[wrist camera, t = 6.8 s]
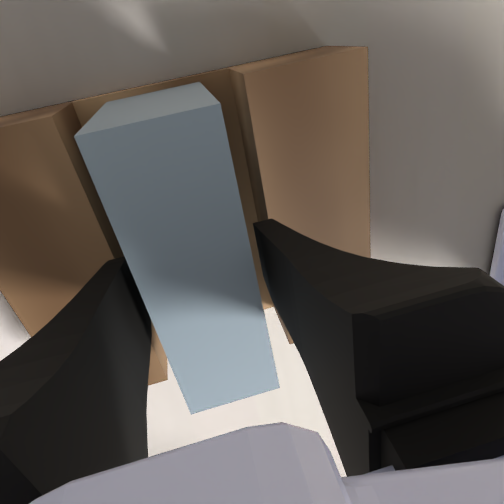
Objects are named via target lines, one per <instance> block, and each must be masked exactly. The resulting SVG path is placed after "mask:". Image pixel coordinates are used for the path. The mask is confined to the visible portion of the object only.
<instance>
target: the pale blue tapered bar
mask: <svg viewBox="0 0 504 504" xmlns="http://www.w3.org/2000/svg"><path fill="white" fill-rule="evenodd" d="M74 138H75V140H76V143H77V145H78V147H79V150H80V152H81V154H82V157H83V159H84V162H85V164H86V166H87V169H88V171H89V173H90V176H91V178H92V181H93V183H94V185H95V188H96V190H97V192H98V195H99V197H100V199H101V202H102V204H103V207H104V209H105V211H106V214H107V216H108V218H109V221H110V223H111V226H112V228H113V230H114V233H115V235H116V237H117V240H118V242H119V245H120V247H121V249H122V252H123V254H124V256H125V259H126V261H127V264H128V266H129V268H130V271H131V273H132V275H133V278H134V280H135V282H136V285H137V287H138V290H139V292H140V294H141V297H142V299H143V301H144V304H145V306H146V309H147V311H148V313H149V316H150V318H151V320H152V323H153V325H154V328H155V330H156V332H157V335H158V337H159V339H160V342H161V344H162V346H163V349H164V351H165V354H166V356H167V358H168V361H169V363H170V365H171V368H172V370H173V373H174V375H175V377H176V380H177V382H178V384H179V387H180V389H181V392H182V394H183V396H184V399H185V401H186V403H187V406H188V408H189V410H190V413H191V414H194V413H197V412H201V411H204V410H207V409H211V408H214V407H217V406H221V405H224V404H227V403H231V402H234V401H237V400H241V399H244V398H247V397H251V396H254V395H257V394H261V393H264V392H267V391H271V390H274V389H277V388H280V386H279V382H278V377H277V372H276V367H275V362H274V358H273V353H272V348H271V343H270V338H269V334H268V329H267V324H266V319H265V314H264V310H263V305H262V300H261V295H260V291H259V286H258V281H257V276H256V271H255V267H254V262H253V257H252V252H251V247H250V243H249V238H248V233H247V228H246V223H245V219H244V214H243V209H242V204H241V200H240V195H239V190H238V185H237V180H236V176H235V171H234V166H233V161H232V156H231V152H230V147H229V142H228V137H227V132H226V128H225V123H224V118H223V113H222V109H221V104H220V102H219V101H218V100H217V99H216V98H215V97H214V96H213V95H212V94H211V93H210V92H209V91H208V90H207V89H206V88H205V87H204V86H203V85H202V84H201V83H200V82H196V83H191V84H186V85H182V86H177V87H173V88H168V89H164V90H159V91H154V92H150V93H145V94H141V95H136V96H132V97H127V98H123V99H118V100H113V101H109V102H106V103H105V104H104V105H103V106H102V107H101V108H100V109H99V110H98V111H97V112H96V113H95V114H94V116H93V117H92V118H91V119H90V120H89V121H88V122H87V123H86V124H85V125H84V126H83V127H82V128H81V129H80V130H79V131H78V132H77V133H76V135H75V136H74Z"/></svg>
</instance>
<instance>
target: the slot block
mask: <svg viewBox="0 0 504 504" xmlns="http://www.w3.org/2000/svg"><path fill="white" fill-rule="evenodd" d="M196 82H200V83H201V84H202V85H203V86H204V87H205V88H206V89H207V90H208V91H209V92H210V93H211V94H212V95H213V96H214V97H215V98H216V99H217V100H218V101H219V102H220V104H221V109H222V113H223V118H224V123H225V128H226V132H227V137H228V142H229V147H230V152H231V156H232V161H233V166H234V171H235V176H236V180H237V185H238V190H239V195H240V200H241V204H242V209H243V214H244V219H245V223H246V228H247V233H248V238H249V243H250V247H251V252H252V257H253V262H254V267H255V271H256V276H257V281H258V286H259V291H260V295H261V300H262V305H263V310H264V309H267V308H271V307H274V308H275V306H274V304H273V302H272V299H271V297H270V294H269V291H268V288H267V286H266V283H265V280H264V277H263V273H262V268H261V263H260V258H259V253H258V248H257V242H256V237H255V232H254V227H253V223H256V222H260V221H264V220H267V219H271V218H272V219H274V220H276V221H278V222H280V223H281V224H283V225H285V226H287V227H289V228H291V229H293V230H295V231H297V232H298V233H300V234H303V235H305V236H307V237H309V238H311V239H313V240H316V241H318V242H320V243H323V244H325V245H328V246H330V247H333V248H336V249H339V250H342V251H345V252H349V253H352V254H356V255H359V256H363V257H368V258H370V178H369V94H368V47H355V46H324V47H319V48H315V49H310V50H305V51H301V52H296V53H292V54H287V55H282V56H278V57H273V58H269V59H264V60H259V61H255V62H250V63H246V64H241V65H236V66H232V67H227V68H223V69H218V70H213V71H209V72H204V73H199V74H195V75H190V76H186V77H181V78H176V79H172V80H167V81H163V82H158V83H153V84H149V85H144V86H140V87H135V88H130V89H126V90H121V91H117V92H112V93H107V94H103V95H98V96H94V97H89V98H84V99H80V100H75V101H71V102H66V103H61V104H57V105H52V106H47V107H43V108H38V109H34V110H29V111H24V112H20V113H15V114H11V115H6V116H1V117H0V291H1V292H2V294H3V295H4V297H5V298H6V300H7V301H8V303H9V304H10V306H11V307H12V309H13V310H14V312H15V313H16V315H17V316H18V318H19V319H20V321H21V322H22V324H23V325H24V327H25V328H26V330H27V331H28V333H29V334H30V336H31V337H32V336H34V335H35V334H36V333H37V332H38V331H39V330H41V329H42V328H43V327H44V326H45V325H46V324H47V323H48V322H49V321H50V320H52V319H53V318H54V317H55V316H56V315H57V314H58V313H59V312H60V311H61V310H62V309H63V308H64V307H65V306H66V305H67V304H68V303H69V302H70V301H71V300H72V299H73V298H74V296H75V295H76V294H77V293H78V292H79V291H80V290H81V289H82V288H83V287H84V285H85V284H86V283H87V282H88V281H89V280H90V279H91V278H92V277H93V276H94V274H95V273H96V272H97V271H98V270H99V269H100V268H101V267H102V266H103V265H104V264H105V263H106V262H107V261H108V260H112V259H116V258H120V257H124V254H123V252H122V249H121V247H120V245H119V242H118V240H117V237H116V235H115V233H114V230H113V228H112V226H111V223H110V221H109V218H108V216H107V214H106V211H105V209H104V207H103V204H102V202H101V199H100V197H99V195H98V192H97V190H96V188H95V185H94V183H93V181H92V178H91V176H90V173H89V171H88V169H87V166H86V164H85V162H84V159H83V157H82V154H81V152H80V150H79V147H78V145H77V143H76V140H75V138H74V136H75V135H76V133H77V132H78V131H79V130H80V129H81V128H82V127H83V126H84V125H85V124H86V123H87V122H88V121H89V120H90V119H91V118H92V117H93V116H94V114H95V113H96V112H97V111H98V110H99V109H100V108H101V107H102V106H103V105H104V104H105V103H106V102H109V101H113V100H118V99H123V98H127V97H132V96H136V95H141V94H145V93H150V92H154V91H159V90H164V89H168V88H173V87H177V86H182V85H186V84H191V83H196ZM275 310H276V313H277V315H278V318H279V320H280V322H281V325H282V327H283V329H284V332H285V334H286V336H287V339H288V341H289V344H293V343H294V342H293V340H292V338H291V336H290V334H289V332H288V330H287V329H286V327H285V325H284V323H283V321H282V319H281V317H280V315H279V313H278V311H277V309H276V308H275ZM151 328H152V340H151V353H150V366H149V378H148V385H151V384H155V383H158V382H162V381H165V380H168V378H167V356H166V354H165V351H164V349H163V346H162V344H161V342H160V339H159V337H158V335H157V332H156V330H155V328H154V325H153V323H152V320H151Z"/></svg>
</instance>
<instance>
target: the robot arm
mask: <svg viewBox="0 0 504 504" xmlns="http://www.w3.org/2000/svg"><path fill="white" fill-rule="evenodd" d="M253 227H254V232H255V237H256V242H257V248H258V253H259V258H260V263H261V268H262V273H263V277H264V280H265V283H266V286H267V288H268V291H269V294H270V297H271V299H272V302H273V304H274V306H275V308H276V309H277V311H278V313H279V315H280V317H281V319H282V321H283V323H284V325H285V327H286V329H287V330H288V332H289V334H290V336H291V338H292V340H293V342H294V344H295V346H296V348H297V349H298V351H299V353H300V355H301V358H302V360H303V362H304V364H305V366H306V369H307V371H308V374H309V376H310V379H311V382H312V384H313V387H314V389H315V392H316V394H317V397H318V400H319V402H320V405H321V407H322V410H323V413H324V415H325V418H326V420H327V423H328V426H329V428H330V431H331V434H332V437H333V439H334V442H335V445H336V447H337V450H338V453H339V455H340V458H341V461H342V464H343V466H344V469H345V472H346V475H347V477H341V476H340V474H339V471H338V469H337V467H336V464H335V462H334V459H333V457H332V454H331V452H330V450H329V449H328V447H327V446H326V444H325V443H324V441H323V439H322V438H321V436H320V435H319V433H318V432H315V431H312V430H308V429H305V428H301V427H297V426H294V425H290V424H287V423H283V422H280V423H273V424H266V425H258V426H251V427H245V428H242V429H239V430H236V431H232V432H229V433H226V434H223V435H219V436H216V437H213V438H210V439H206V440H203V441H200V442H197V443H193V444H190V445H187V446H184V447H180V448H177V449H174V450H171V451H167V452H164V453H161V454H158V455H154V456H151V457H148V446H147V417H146V408H147V390H148V378H149V366H150V353H151V340H152V328H151V318H150V316H149V313H148V311H147V309H146V306H145V304H144V301H143V299H142V297H141V294H140V292H139V290H138V287H137V285H136V282H135V280H134V278H133V275H132V273H131V271H130V268H129V266H128V264H127V261H126V259H125V256H124V257H120V258H116V259H112V260H108V261H107V262H106V263H105V264H104V265H103V266H102V267H101V268H100V269H99V270H98V271H97V272H96V273H95V274H94V276H93V277H92V278H91V279H90V280H89V281H88V282H87V283H86V284H85V285H84V287H83V288H82V289H81V290H80V291H79V292H78V293H77V294H76V295H75V296H74V298H73V299H72V300H71V301H70V302H69V303H68V304H67V305H66V306H65V307H64V308H63V309H62V310H61V311H60V312H59V313H58V314H57V315H56V316H55V317H54V318H53V319H52V320H50V321H49V322H48V323H47V324H46V325H45V326H44V327H43V328H42V329H41V330H39V331H38V332H37V333H36V334H35V335H34V336H32V337H31V338H30V339H29V340H28V341H26V342H25V343H24V344H23V345H21V346H20V347H19V348H18V349H16V350H15V351H14V352H12V353H11V354H10V355H8V356H7V357H5V358H4V359H3V360H1V361H0V504H504V209H503V210H502V213H501V218H500V223H499V228H498V234H497V239H496V244H495V249H494V254H493V260H492V265H491V270H490V275H488V274H487V273H485V272H484V271H482V270H481V269H479V268H458V267H430V266H419V265H409V264H401V263H394V262H388V261H383V260H377V259H372V258H368V257H363V256H359V255H356V254H352V253H349V252H345V251H342V250H339V249H336V248H333V247H330V246H328V245H325V244H323V243H320V242H318V241H316V240H313V239H311V238H309V237H307V236H305V235H303V234H300V233H298V232H297V231H295V230H293V229H291V228H289V227H287V226H285V225H283V224H281V223H280V222H278V221H276V220H274V219H272V218H271V219H267V220H264V221H260V222H256V223H253Z"/></svg>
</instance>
